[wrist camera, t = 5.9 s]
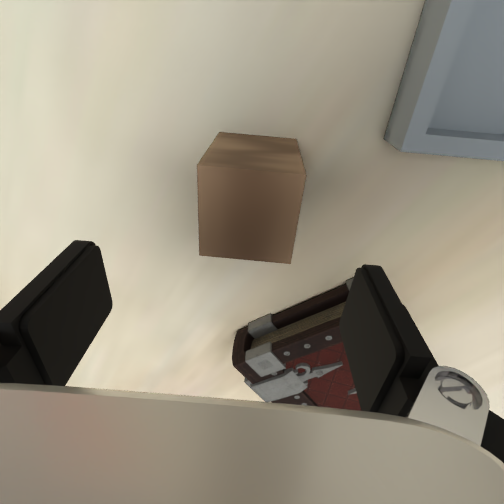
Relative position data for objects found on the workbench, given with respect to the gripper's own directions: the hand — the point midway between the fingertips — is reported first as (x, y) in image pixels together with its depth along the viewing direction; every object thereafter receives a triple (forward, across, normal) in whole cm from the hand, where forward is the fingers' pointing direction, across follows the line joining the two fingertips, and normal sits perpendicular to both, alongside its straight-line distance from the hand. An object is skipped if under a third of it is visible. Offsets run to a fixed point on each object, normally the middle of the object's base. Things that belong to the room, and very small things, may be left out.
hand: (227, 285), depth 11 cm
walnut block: (+12, -1, 0) cm, 12 cm away
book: (+12, -13, +21) cm, 27 cm away
